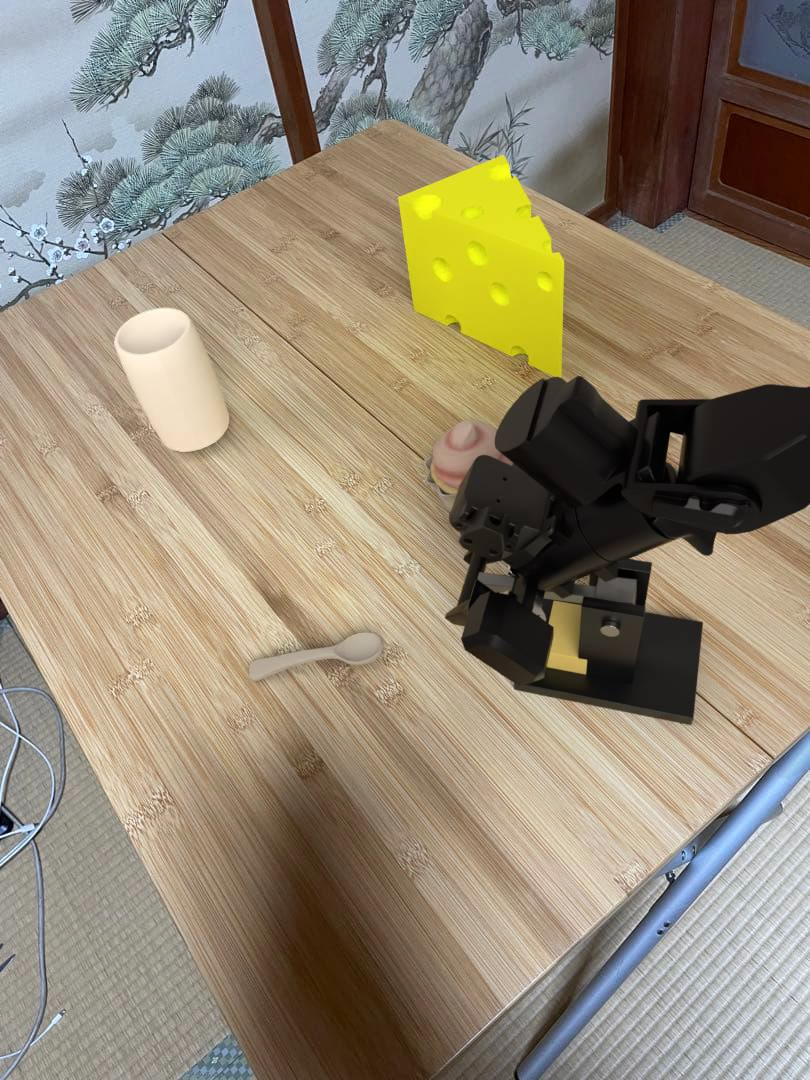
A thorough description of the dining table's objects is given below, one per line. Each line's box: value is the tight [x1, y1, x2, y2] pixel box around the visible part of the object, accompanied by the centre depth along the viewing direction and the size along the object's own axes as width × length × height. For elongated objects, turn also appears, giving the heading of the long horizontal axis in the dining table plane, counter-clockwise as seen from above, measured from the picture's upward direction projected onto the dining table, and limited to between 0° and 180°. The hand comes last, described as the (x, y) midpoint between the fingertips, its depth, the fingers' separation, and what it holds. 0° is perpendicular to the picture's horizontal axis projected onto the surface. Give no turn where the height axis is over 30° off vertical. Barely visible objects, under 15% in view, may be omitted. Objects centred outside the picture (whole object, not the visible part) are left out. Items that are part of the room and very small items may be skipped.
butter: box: [547, 601, 587, 674], centre depth 68 cm, size 5×4×2 cm
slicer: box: [513, 558, 704, 726], centre depth 65 cm, size 14×9×11 cm, turn 73°
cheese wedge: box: [397, 154, 565, 378], centre depth 94 cm, size 19×20×15 cm
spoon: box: [248, 631, 385, 682], centre depth 72 cm, size 3×12×2 cm, turn 97°
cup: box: [113, 306, 230, 453], centre depth 88 cm, size 8×8×14 cm
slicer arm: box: [456, 553, 637, 606], centre depth 64 cm, size 13×6×2 cm, turn 73°
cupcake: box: [423, 419, 513, 513], centre depth 78 cm, size 9×9×10 cm
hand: (458, 589), depth 68 cm, fingers closed on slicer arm, 5 cm apart
